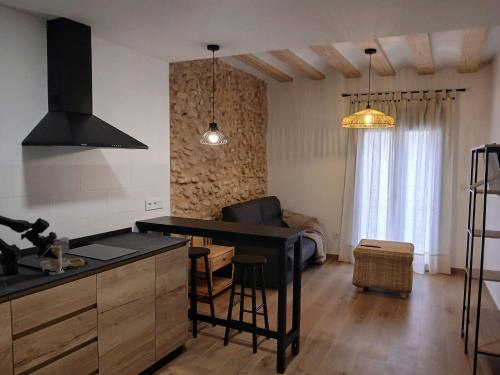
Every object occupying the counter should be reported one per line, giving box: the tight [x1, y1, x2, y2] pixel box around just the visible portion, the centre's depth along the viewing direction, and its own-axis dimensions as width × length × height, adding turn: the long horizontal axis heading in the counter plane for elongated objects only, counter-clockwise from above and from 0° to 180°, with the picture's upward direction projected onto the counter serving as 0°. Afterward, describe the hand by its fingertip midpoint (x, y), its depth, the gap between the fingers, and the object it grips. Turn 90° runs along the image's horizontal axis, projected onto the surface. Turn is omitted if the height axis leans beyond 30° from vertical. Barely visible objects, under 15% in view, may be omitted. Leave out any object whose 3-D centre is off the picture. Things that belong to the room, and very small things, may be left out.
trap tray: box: [66, 257, 86, 268], centre depth 229 cm, size 8×10×2 cm
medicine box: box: [55, 236, 70, 245], centre depth 258 cm, size 8×4×9 cm, turn 163°
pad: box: [48, 268, 65, 276], centre depth 214 cm, size 7×7×1 cm
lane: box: [39, 258, 69, 272], centre depth 223 cm, size 14×10×3 cm
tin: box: [53, 241, 71, 255], centre depth 248 cm, size 15×3×8 cm, turn 141°
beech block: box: [49, 245, 63, 271], centre depth 213 cm, size 5×5×13 cm
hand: (58, 257), depth 214 cm, fingers closed on beech block, 5 cm apart
